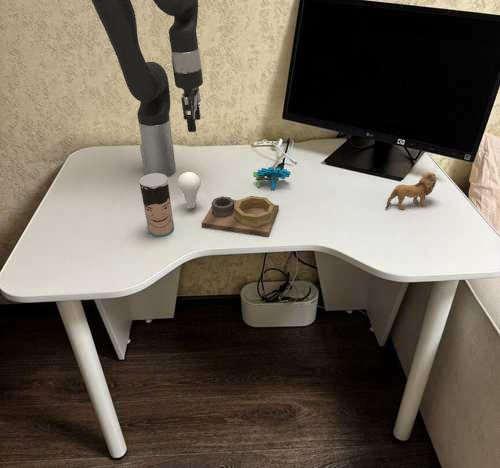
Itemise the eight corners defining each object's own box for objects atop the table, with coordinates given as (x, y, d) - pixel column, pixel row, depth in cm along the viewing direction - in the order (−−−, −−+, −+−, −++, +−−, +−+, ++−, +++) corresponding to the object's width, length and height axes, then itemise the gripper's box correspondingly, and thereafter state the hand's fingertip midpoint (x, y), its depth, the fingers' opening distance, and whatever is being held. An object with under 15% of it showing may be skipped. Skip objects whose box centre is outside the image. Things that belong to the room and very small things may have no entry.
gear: (293, 174, 141) (287, 164, 131) (292, 193, 140) (286, 184, 130) (258, 175, 144) (249, 165, 134) (257, 194, 143) (248, 185, 133)
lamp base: (201, 227, 121) (200, 213, 119) (217, 202, 131) (216, 188, 129) (268, 236, 117) (268, 222, 115) (278, 210, 128) (279, 196, 125)
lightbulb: (206, 204, 131) (203, 169, 124) (197, 215, 126) (193, 180, 120) (186, 200, 132) (182, 166, 126) (177, 211, 128) (172, 176, 121)
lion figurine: (423, 195, 133) (430, 167, 128) (435, 204, 129) (443, 176, 124) (379, 205, 129) (384, 177, 124) (391, 215, 125) (396, 186, 120)
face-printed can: (143, 235, 119) (134, 184, 110) (155, 221, 124) (147, 171, 115) (167, 239, 117) (159, 188, 108) (178, 225, 122) (172, 175, 114)
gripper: (177, 60, 127) (185, 116, 137) (167, 76, 116) (177, 136, 125) (204, 59, 127) (210, 115, 136) (197, 75, 115) (204, 135, 125)
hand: (194, 125), depth 131 cm, fingers open, 8 cm apart
